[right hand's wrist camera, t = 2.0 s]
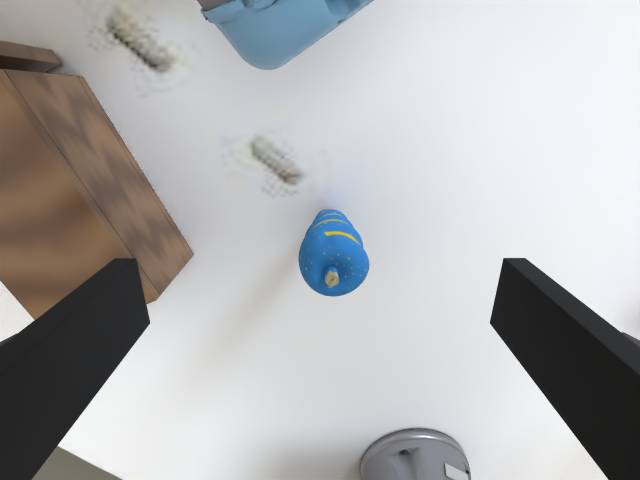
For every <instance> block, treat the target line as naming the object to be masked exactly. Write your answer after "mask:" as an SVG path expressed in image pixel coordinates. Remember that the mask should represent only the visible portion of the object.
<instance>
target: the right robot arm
mask: <svg viewBox="0 0 640 480" xmlns="http://www.w3.org/2000/svg"><path fill="white" fill-rule="evenodd" d="M149 324H150V320H149V315H148V310H147V306H146V301H145V296H144V292H143V287H142V282H141V278H140V273H139V268H138V263H137V259H136V258H115V259H113V260H112V261H111V262H109V263H108V264H107V265H105V266H104V267H103V268H102V269H100V270H99V271H98V272H96V273H95V274H94V275H93V276H91V277H90V278H89V279H87V280H86V281H85V282H84V283H82V284H81V285H80V286H78V287H77V288H76V289H75V290H73V291H72V292H71V293H69V294H68V295H67V296H66V297H64V298H63V299H62V300H60V301H59V302H58V303H57V304H55V305H54V306H53V307H51V308H50V309H49V310H47V311H46V312H45V313H44V314H42V315H41V316H40V317H38V318H37V319H36V320H35V321H33V322H32V323H31V324H29V325H28V326H27V327H26V328H24V329H23V330H22V331H20V332H19V333H18V334H15V335H13V336H11V337H9V338H7V339H5V340H3V341H1V342H0V480H31V479H32V478H33V477H34V476H35V474H36V473H37V472H38V470H39V469H40V468H41V466H42V465H43V464H44V462H45V461H46V460H47V458H48V457H49V456H50V455H51V453H52V452H53V451H54V449H55V448H56V447H57V445H58V444H59V443H60V441H61V440H62V439H63V437H64V436H65V435H66V433H67V432H68V431H69V429H70V428H71V427H72V426H73V424H74V423H75V422H76V420H77V419H78V418H79V416H80V415H81V414H82V412H83V411H84V410H85V408H86V407H87V406H88V404H89V403H90V402H91V400H92V399H93V398H94V396H95V395H96V394H97V393H98V391H99V390H100V389H101V387H102V386H103V385H104V383H105V382H106V381H107V379H108V378H109V377H110V375H111V374H112V373H113V371H114V370H115V369H116V367H117V366H118V365H119V364H120V362H121V361H122V360H123V358H124V357H125V356H126V354H127V353H128V352H129V350H130V349H131V348H132V346H133V345H134V344H135V342H136V341H137V340H138V338H139V337H140V336H141V334H142V333H143V332H144V331H145V329H146V328H147V327H148V325H149ZM490 324H491V325H492V327H493V328H494V329H495V331H496V332H497V333H498V334H499V336H500V337H501V338H502V340H503V341H504V342H505V344H506V345H507V346H508V348H509V349H510V350H511V352H512V353H513V354H514V356H515V357H516V358H517V360H518V361H519V362H520V364H521V365H522V366H523V367H524V369H525V370H526V371H527V373H528V374H529V375H530V377H531V378H532V379H533V381H534V382H535V383H536V385H537V386H538V387H539V389H540V390H541V391H542V393H543V394H544V395H545V396H546V398H547V399H548V400H549V402H550V403H551V404H552V406H553V407H554V408H555V410H556V411H557V412H558V414H559V415H560V416H561V418H562V419H563V420H564V422H565V423H566V424H567V426H568V427H569V428H570V429H571V431H572V432H573V433H574V435H575V436H576V437H577V439H578V440H579V441H580V443H581V444H582V445H583V447H584V448H585V449H586V451H587V452H588V453H589V455H590V456H591V457H592V458H593V460H594V461H595V462H596V464H597V465H598V466H599V468H600V469H601V470H602V472H603V473H604V474H605V476H606V477H607V478H608V480H640V340H638V339H636V338H634V337H632V336H630V335H628V334H626V333H624V332H620V331H618V330H617V329H616V328H614V327H613V326H612V325H611V324H609V323H608V322H607V321H605V320H604V319H603V318H602V317H600V316H599V315H598V314H596V313H595V312H594V311H593V310H591V309H590V308H589V307H587V306H586V305H585V304H583V303H582V302H581V301H580V300H578V299H577V298H576V297H574V296H573V295H572V294H571V293H569V292H568V291H567V290H565V289H564V288H563V287H562V286H560V285H559V284H558V283H556V282H555V281H554V280H553V279H551V278H550V277H549V276H547V275H546V274H545V273H544V272H542V271H541V270H540V269H538V268H537V267H536V266H535V265H533V264H532V263H531V262H529V261H528V260H527V259H525V258H504V259H503V263H502V268H501V273H500V278H499V282H498V287H497V292H496V296H495V301H494V306H493V310H492V315H491V320H490ZM360 474H361V480H471V473H470V468H469V464H468V461H467V459H466V457H465V454H464V452H463V450H462V448H461V447H460V445H459V444H458V443H457V442H456V441H455V440H453V439H452V438H450V437H449V436H447V435H445V434H442V433H439V432H436V431H432V430H425V429H412V430H404V431H400V432H396V433H393V434H390V435H388V436H386V437H383V438H382V439H380V440H378V441H377V442H376V443H374V444H373V445H372V446H371V447H370V448H369V449H368V450H367V451H366V453H365V454H364V456H363V458H362V461H361V465H360Z"/></svg>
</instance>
